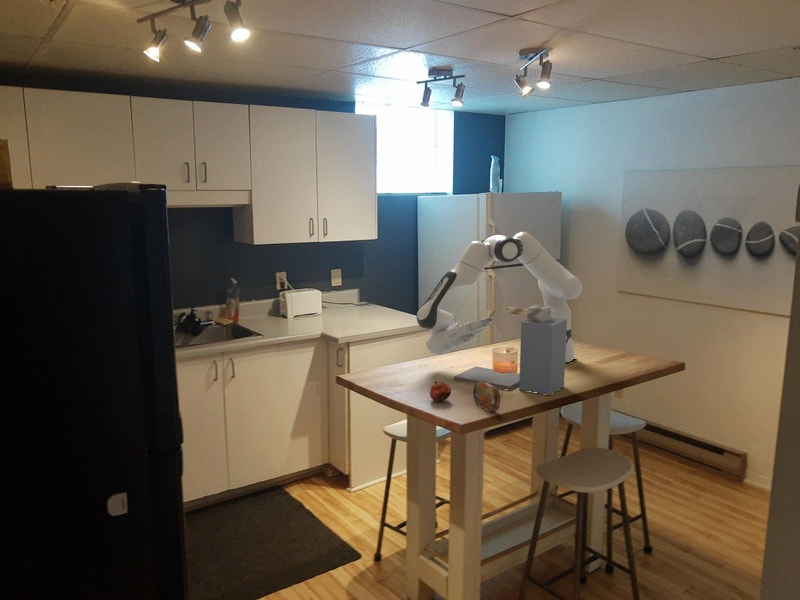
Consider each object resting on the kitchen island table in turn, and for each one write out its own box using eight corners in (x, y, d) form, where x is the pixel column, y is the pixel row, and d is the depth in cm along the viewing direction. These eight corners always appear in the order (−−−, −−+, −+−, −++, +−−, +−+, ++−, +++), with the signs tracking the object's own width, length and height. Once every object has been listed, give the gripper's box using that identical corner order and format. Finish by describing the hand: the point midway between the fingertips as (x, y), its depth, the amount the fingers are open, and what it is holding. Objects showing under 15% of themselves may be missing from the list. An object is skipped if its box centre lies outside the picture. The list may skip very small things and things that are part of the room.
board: (453, 379, 246) (453, 376, 246) (475, 369, 261) (475, 366, 260) (509, 390, 233) (509, 386, 232) (529, 379, 247) (529, 375, 247)
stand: (519, 390, 232) (521, 321, 228) (534, 381, 244) (536, 316, 240) (549, 396, 226) (552, 325, 222) (564, 386, 237) (566, 319, 233)
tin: (472, 401, 220) (472, 378, 219) (480, 400, 221) (480, 377, 220) (493, 415, 206) (493, 390, 205) (501, 414, 207) (502, 389, 206)
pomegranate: (453, 408, 219) (446, 385, 226) (455, 396, 214) (448, 373, 221) (433, 412, 218) (426, 388, 225) (434, 400, 213) (427, 376, 220)
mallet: (502, 318, 236) (502, 305, 235) (511, 314, 242) (511, 302, 242) (542, 322, 227) (542, 309, 226) (550, 319, 233) (551, 306, 232)
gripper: (443, 330, 244) (471, 316, 236) (469, 322, 261) (495, 309, 253) (450, 345, 243) (477, 331, 235) (475, 336, 260) (502, 323, 252)
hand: (487, 320), depth 244 cm, fingers open, 8 cm apart
